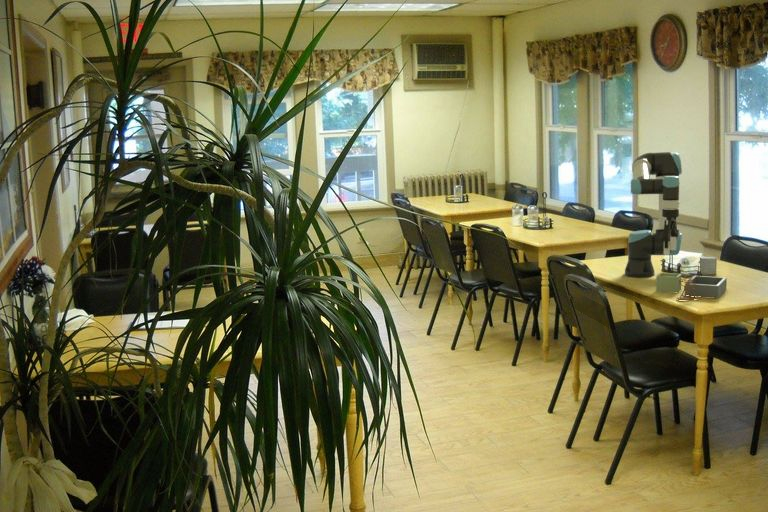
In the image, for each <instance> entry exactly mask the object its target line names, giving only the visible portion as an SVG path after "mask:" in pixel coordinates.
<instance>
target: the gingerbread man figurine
mask: <svg viewBox="0 0 768 512" xmlns="http://www.w3.org/2000/svg"><path fill="white" fill-rule="evenodd" d="M687 276H688V277H687ZM692 277H693V276H691V274H688V273H687V274H685V275H684V276H683V279H682V278H681V279H679V284H680V283H681V284H680V285H681V287H682V286H683V290H682V293H681V294H680V297H676V299H678V300H694V299H698V300H699V297H695V296H694V295H693V293H692V291H691V286H692V285H690V289H688V284H689V282H691V279H692ZM680 280H681V281H680ZM689 280H690V281H689ZM682 283H683V284H684V285H683V284H682ZM693 283H694V282H693ZM685 284H687V289H685ZM694 284H695V283H694ZM693 287H695V288H696V284H695V285H693V286H692V288H693ZM695 288H693V289H695ZM685 290H690V291H691V293H692V295H693V296H694V297H691V296H692V295H689V293H688V292H686V294H685ZM687 293H688V295H689V296H686V295H687ZM678 300H677V301H678Z"/></svg>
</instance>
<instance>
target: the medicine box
mask: <svg viewBox="0 0 768 512" xmlns="http://www.w3.org/2000/svg"><path fill="white" fill-rule="evenodd" d="M699 258H700V261H699V260H698V264H699V263H700V267H701V274H703V275H702V276H707V275H717V261H718V260H717V258H716V257H715V256H705V257H703V256H700V257H699ZM701 274H700V275H701Z"/></svg>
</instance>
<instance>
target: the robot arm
mask: <svg viewBox="0 0 768 512" xmlns="http://www.w3.org/2000/svg"><path fill="white" fill-rule="evenodd" d="M631 171H632V173H633V174H634V177H633V179H631V180H630V193H631V195H637V196H639V195H658V226H657V228H656V229H655V232H652V230H651V229H643V230H642V229H641V230H636V231H631V232H630V233H629V235H628V240H627V243H628V244H627V246H628V247H627V249H628V250H627V252H628V253H627V257H628V258H627V263H626V266H625V269H624V275H625V276H628V277H632V278H649V277H653V276H655V268H654V266H653V262H652V256H677V255H678V254H680V251H681V247H682V246H681V244H682V237H683V236H682V235H683V233H682V232H679V231H680V229H679V228H678V226H677V225H678V224H677V218H678V217H679V216H680V210H679V209H678V208H679V207H680V204H681V202H680V183H681V182H680V176H681V175H682V173H683V170H682V160H681V156H680V154H679V153H678V152H674V151H673V152H671V151H669V152H667V151H664V152H647V153H643V154H642V155H640V156H638V157H637V158H636V159H635V160H634V161H633V162H632V164H631ZM651 176H655V178H651ZM670 234H671V236H672V237H671V236H670Z"/></svg>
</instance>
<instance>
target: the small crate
mask: <svg viewBox="0 0 768 512" xmlns="http://www.w3.org/2000/svg"><path fill="white" fill-rule="evenodd" d="M682 275H683V274H682V273H671V272H659V273H658V274H657V275H656V276H655V277H656V280H655V282H656V283H655V287H656V289H655V292H656V291H658V292H657V293H666V292H677V293H676V294H678V293H679V291H680V290H681V291H682V282H681V283H680V284H681V285H680V284H679V279H682ZM680 281H682V280H680ZM681 291H680V292H681Z"/></svg>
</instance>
